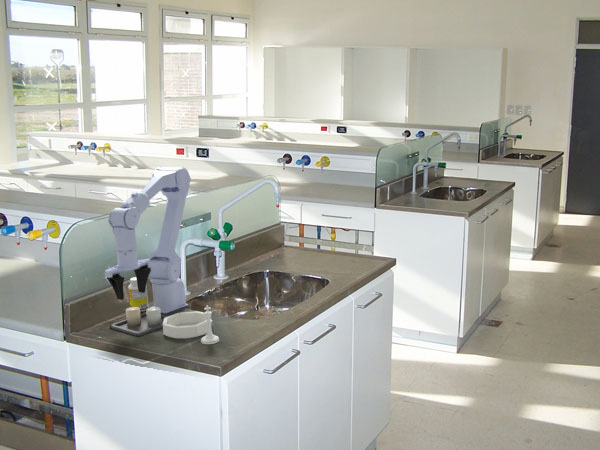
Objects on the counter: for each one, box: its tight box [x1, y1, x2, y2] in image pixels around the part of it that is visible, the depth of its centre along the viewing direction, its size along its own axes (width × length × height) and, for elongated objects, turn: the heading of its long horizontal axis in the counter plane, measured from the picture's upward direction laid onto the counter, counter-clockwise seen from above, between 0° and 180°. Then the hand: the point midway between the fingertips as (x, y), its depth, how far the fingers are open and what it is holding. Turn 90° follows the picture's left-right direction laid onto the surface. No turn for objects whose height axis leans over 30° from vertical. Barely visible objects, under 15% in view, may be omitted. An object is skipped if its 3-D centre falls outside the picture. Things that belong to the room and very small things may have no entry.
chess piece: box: [200, 304, 220, 345], centre depth 190 cm, size 5×5×10 cm
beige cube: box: [125, 306, 141, 326], centre depth 206 cm, size 4×4×4 cm
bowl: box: [162, 310, 212, 339], centre depth 199 cm, size 13×13×4 cm
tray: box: [109, 311, 168, 337], centre depth 206 cm, size 14×13×1 cm
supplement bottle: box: [127, 276, 150, 313], centre depth 219 cm, size 6×6×10 cm
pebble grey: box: [145, 306, 162, 327], centre depth 205 cm, size 4×4×4 cm
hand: (131, 295), depth 205 cm, fingers open, 7 cm apart
